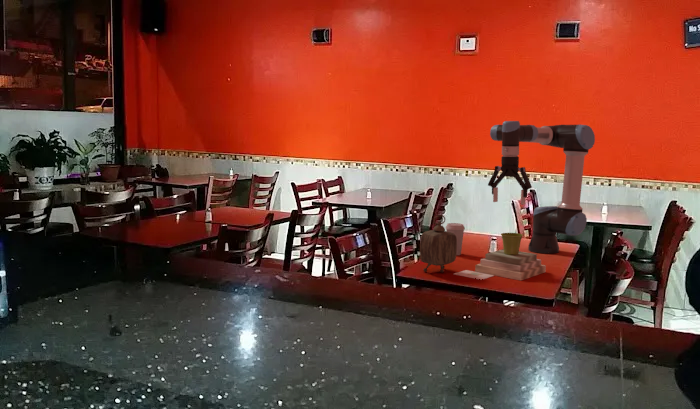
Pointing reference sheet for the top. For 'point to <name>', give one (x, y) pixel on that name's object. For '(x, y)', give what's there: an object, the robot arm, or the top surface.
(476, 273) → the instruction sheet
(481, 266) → the stepped tower
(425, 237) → the tabletop clock
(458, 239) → the coffee cup
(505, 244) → the plant pot
